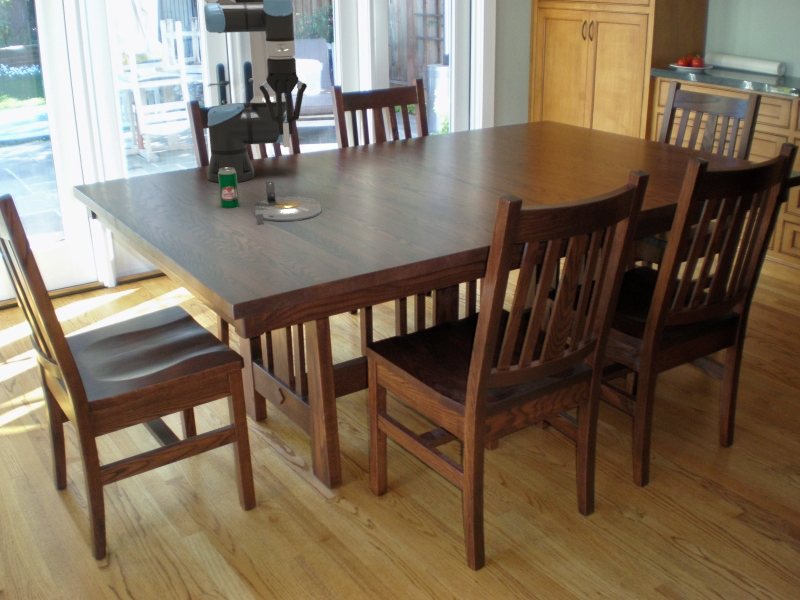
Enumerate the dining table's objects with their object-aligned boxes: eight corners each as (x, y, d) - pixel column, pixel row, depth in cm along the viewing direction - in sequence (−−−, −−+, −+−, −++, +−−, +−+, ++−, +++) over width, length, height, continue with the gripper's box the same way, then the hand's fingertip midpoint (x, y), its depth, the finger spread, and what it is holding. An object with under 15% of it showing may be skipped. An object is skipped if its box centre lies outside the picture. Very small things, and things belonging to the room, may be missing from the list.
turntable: (242, 216, 223) (239, 191, 220) (278, 200, 238) (276, 176, 235) (299, 224, 216) (297, 198, 213) (332, 207, 231) (331, 182, 228)
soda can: (222, 213, 231) (218, 171, 226) (220, 209, 235) (217, 167, 231) (240, 212, 232) (236, 170, 228) (238, 207, 237) (235, 166, 232)
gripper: (258, 59, 213) (264, 150, 222) (308, 57, 216) (312, 147, 225) (254, 56, 220) (260, 145, 229) (302, 55, 223) (307, 142, 232)
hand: (286, 146), depth 227 cm, fingers closed
